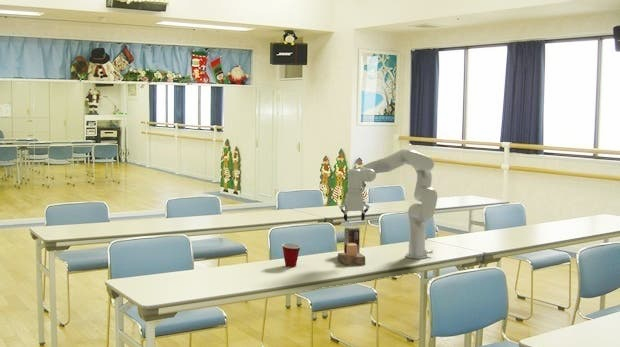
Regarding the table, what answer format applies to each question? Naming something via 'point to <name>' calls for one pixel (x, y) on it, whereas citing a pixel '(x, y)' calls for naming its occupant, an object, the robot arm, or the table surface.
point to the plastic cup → (290, 254)
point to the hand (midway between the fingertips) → (354, 220)
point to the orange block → (352, 249)
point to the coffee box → (351, 237)
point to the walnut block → (351, 259)
